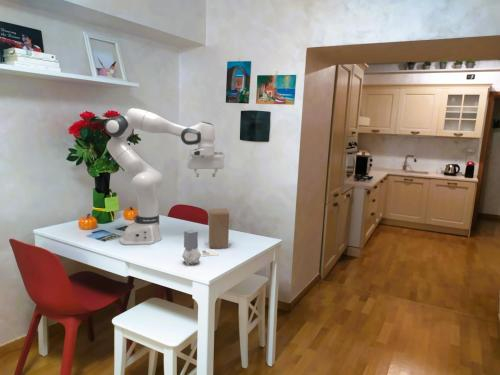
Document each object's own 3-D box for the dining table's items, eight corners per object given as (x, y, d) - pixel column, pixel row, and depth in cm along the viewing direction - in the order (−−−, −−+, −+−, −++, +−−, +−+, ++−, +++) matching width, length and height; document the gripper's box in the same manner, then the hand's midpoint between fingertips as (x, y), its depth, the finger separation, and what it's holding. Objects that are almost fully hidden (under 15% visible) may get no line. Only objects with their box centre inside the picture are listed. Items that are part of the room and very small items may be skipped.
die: (178, 263, 176) (180, 252, 170) (186, 250, 183) (189, 239, 176) (193, 271, 176) (196, 260, 169) (201, 257, 182) (204, 246, 175)
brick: (189, 249, 172) (189, 233, 171) (183, 247, 175) (184, 231, 174) (197, 247, 175) (197, 231, 174) (192, 245, 178) (192, 229, 177)
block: (228, 248, 199) (229, 212, 195) (209, 248, 197) (210, 212, 194) (226, 242, 208) (227, 208, 205) (208, 243, 207) (209, 208, 204)
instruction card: (195, 257, 184) (195, 256, 184) (192, 251, 191) (192, 251, 191) (218, 254, 188) (218, 254, 188) (214, 249, 196) (214, 249, 196)
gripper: (222, 151, 209) (221, 175, 211) (186, 151, 202) (186, 176, 204) (226, 152, 203) (225, 177, 206) (189, 152, 196) (188, 177, 198)
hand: (205, 176), depth 205 cm, fingers open, 8 cm apart
